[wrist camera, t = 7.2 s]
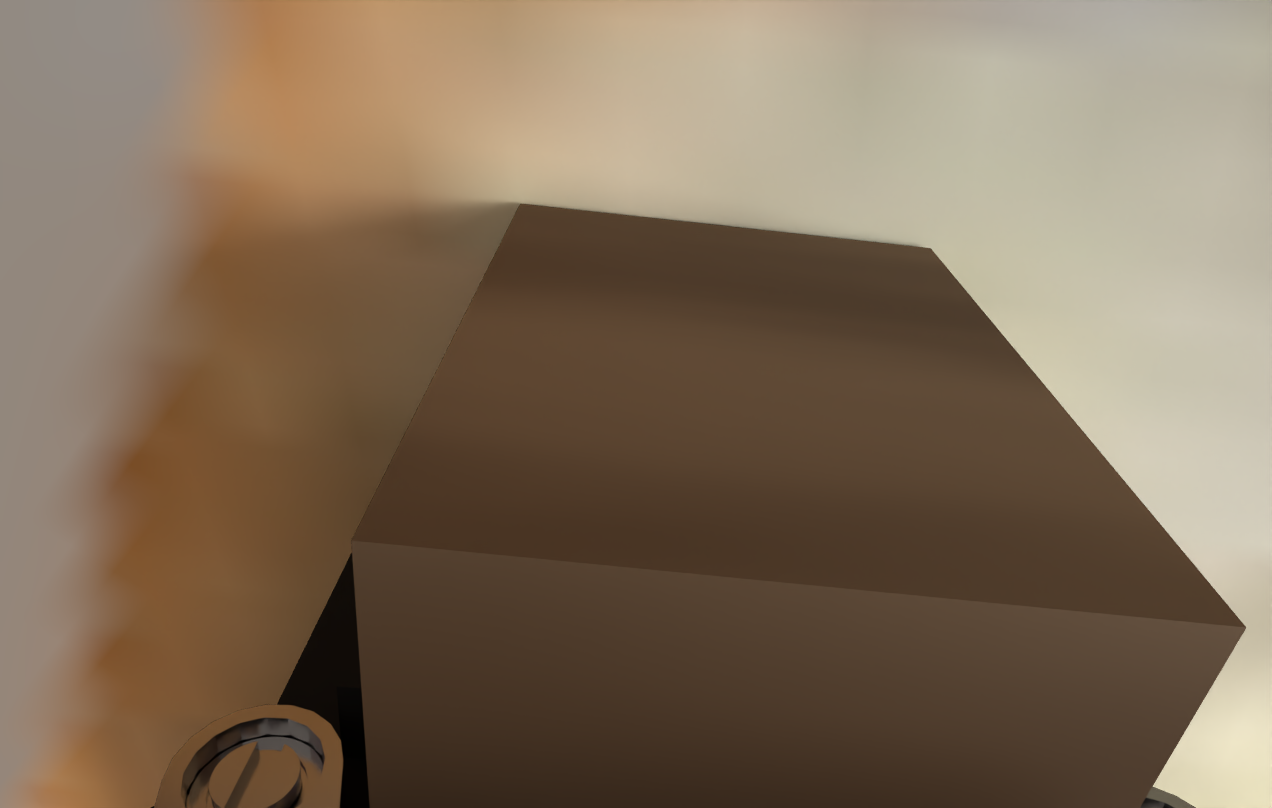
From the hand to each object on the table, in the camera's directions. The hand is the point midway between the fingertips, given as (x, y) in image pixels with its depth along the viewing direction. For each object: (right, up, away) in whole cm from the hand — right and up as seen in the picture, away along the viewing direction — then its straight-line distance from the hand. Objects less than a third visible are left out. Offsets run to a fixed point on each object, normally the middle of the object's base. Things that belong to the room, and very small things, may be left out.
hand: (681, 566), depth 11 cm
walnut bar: (0, -4, +3) cm, 5 cm away
